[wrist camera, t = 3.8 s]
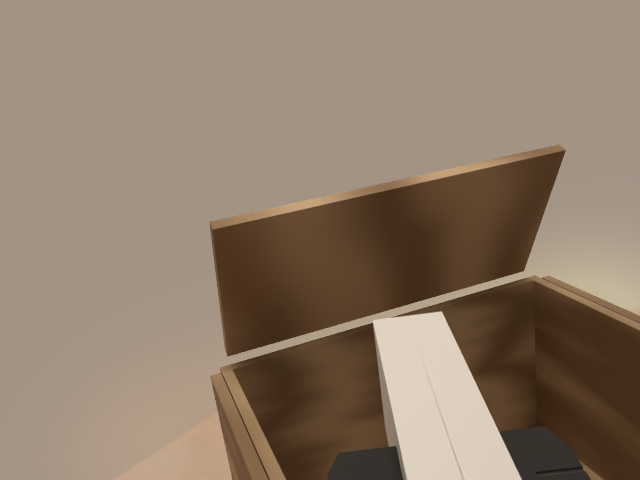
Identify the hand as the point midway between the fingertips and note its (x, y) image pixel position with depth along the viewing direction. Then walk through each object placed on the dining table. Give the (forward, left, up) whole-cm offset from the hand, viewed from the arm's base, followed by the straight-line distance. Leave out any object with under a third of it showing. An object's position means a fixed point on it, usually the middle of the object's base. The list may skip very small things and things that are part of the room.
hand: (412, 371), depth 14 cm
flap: (-7, -14, -3) cm, 16 cm away
